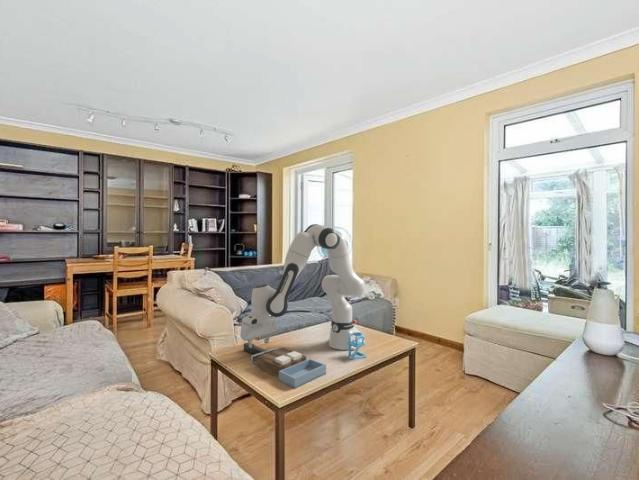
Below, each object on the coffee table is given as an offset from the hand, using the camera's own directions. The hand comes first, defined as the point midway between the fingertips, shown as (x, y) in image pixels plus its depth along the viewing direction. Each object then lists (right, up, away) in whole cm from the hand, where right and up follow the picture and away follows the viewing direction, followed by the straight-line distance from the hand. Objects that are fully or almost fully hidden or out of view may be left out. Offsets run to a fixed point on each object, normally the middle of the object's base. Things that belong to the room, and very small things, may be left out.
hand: (259, 345), depth 159 cm
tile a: (+18, -2, -11) cm, 21 cm away
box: (+23, -7, -20) cm, 31 cm away
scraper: (-3, -6, +4) cm, 8 cm away
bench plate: (+13, -7, -10) cm, 18 cm away
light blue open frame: (+49, -8, +4) cm, 49 cm away
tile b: (+14, -2, -16) cm, 21 cm away
